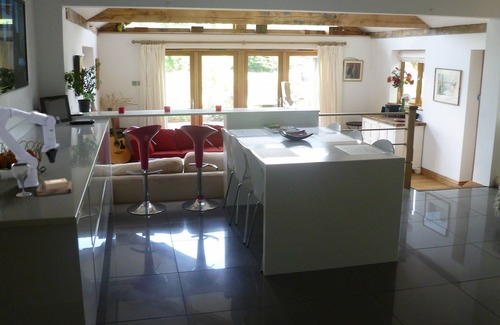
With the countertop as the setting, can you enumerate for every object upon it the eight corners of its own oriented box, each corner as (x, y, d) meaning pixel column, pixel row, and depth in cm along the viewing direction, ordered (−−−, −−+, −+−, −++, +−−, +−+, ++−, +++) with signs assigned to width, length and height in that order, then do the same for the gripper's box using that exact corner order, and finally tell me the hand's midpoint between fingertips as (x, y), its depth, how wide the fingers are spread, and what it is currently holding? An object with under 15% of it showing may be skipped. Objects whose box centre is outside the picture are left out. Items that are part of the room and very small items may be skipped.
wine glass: (13, 197, 235) (9, 167, 231) (16, 192, 242) (12, 163, 238) (31, 196, 237) (28, 165, 233) (33, 191, 244) (30, 162, 241)
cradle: (36, 195, 237) (36, 191, 237) (39, 187, 251) (38, 183, 250) (71, 192, 242) (71, 188, 241) (72, 184, 255) (72, 181, 255)
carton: (47, 194, 240) (46, 184, 239) (45, 190, 246) (43, 180, 245) (68, 191, 245) (67, 181, 244) (65, 187, 251) (64, 178, 250)
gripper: (49, 135, 267) (52, 159, 270) (34, 140, 253) (37, 165, 256) (62, 135, 266) (64, 159, 269) (47, 140, 252) (50, 166, 255)
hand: (52, 162), depth 263 cm, fingers closed
